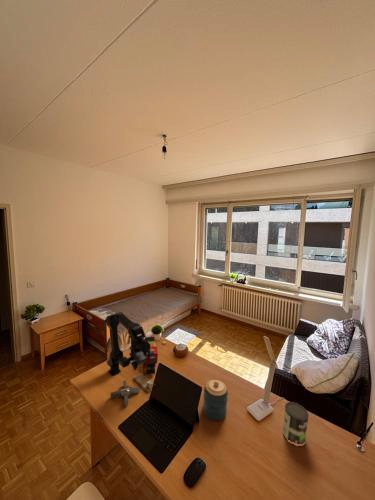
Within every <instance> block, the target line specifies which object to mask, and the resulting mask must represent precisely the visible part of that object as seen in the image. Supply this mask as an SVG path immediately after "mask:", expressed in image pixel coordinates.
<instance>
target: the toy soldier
mask: <svg viewBox="0 0 375 500" xmlns="http://www.w3.org/2000/svg"><path fill="white" fill-rule="evenodd" d="M144 339H145V340H147V341H148V343H150V349H149V351H150V356H148V358H147V359H146V360H145V362H144V363H141V364H140V365H141V367H142V370H143V375H144V376H145V377H146V375H147V376H149V375H155V374H156V365H157V364H158V356H159V355H158V354H159V353H158V346H157V345H156V342H155V339H156V338H155V336H147V337H144ZM145 366H146V372H145Z"/></svg>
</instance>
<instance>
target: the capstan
mask: <svg viewBox="0 0 375 500" xmlns="http://www.w3.org/2000/svg"><path fill="white" fill-rule="evenodd" d="M140 392H141V386H140V385H139V386H134V387H130V386H129V385H127V380H122V387H121V388H120V390H115V391H112V392H110V399H113V398H114V399H115V398H119V397H120V398H121V399H122V400H124V406H128V405H129V397H131V395H132V394H136V393H137V394H138V393H140Z"/></svg>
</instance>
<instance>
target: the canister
mask: <svg viewBox="0 0 375 500" xmlns="http://www.w3.org/2000/svg"><path fill="white" fill-rule="evenodd" d="M228 394H229V392H228V389H227V386H226V384H225V383H224V382H223V381H221V380H218V379H211V380H208V381H207V382H206V383H205V386H204V388H203V402H202V403H203V404H202V410H203V414H204V415H205V416H206V417H207V418H208V419H209V420H211V421H213V422H214V421H215V422H217V421H222V420H223V419H225V417H226V415H227V410H228V409H227V404H228V396H229V395H228Z"/></svg>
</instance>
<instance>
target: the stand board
mask: <svg viewBox="0 0 375 500" xmlns="http://www.w3.org/2000/svg"><path fill="white" fill-rule="evenodd" d="M133 381H134V382H135V383H136V384H138V385H139V386H140V388H142V389H143V390H144V392H146V393H147V394H150V393H151V392H152V391H151V389H152V386H153V384H154V383H153V382H152V381H151V380H150V379H149V378H148V377H147V376H146V375H145V376H144V373H142V372H140V373H138V374H137V375H135V376H133Z"/></svg>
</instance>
